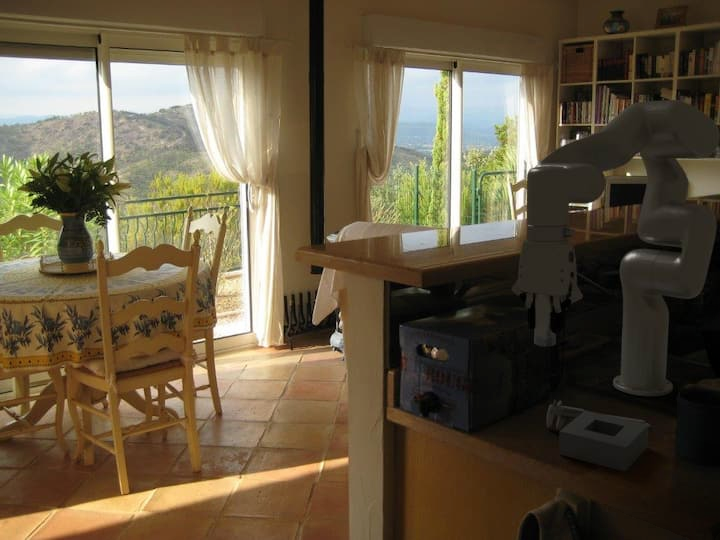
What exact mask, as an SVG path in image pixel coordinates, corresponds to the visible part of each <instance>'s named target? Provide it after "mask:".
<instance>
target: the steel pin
mask: <svg viewBox="0 0 720 540" xmlns="http://www.w3.org/2000/svg"><path fill="white" fill-rule="evenodd" d="M553 312H555V307H554V301H553V296H549V295H547V294H539V293H536V294H535V316H534V329H533V330H534V334H533V339H534V340H533V343H534V345H536V346H538V347H554V346H556V344H557V333H553V332H552V313H553Z"/></svg>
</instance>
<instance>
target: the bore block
mask: <svg viewBox="0 0 720 540" xmlns="http://www.w3.org/2000/svg"><path fill="white" fill-rule="evenodd" d="M584 410H585V409H584ZM608 415H609V414H605V415H604V414H603V413H599V412H594V411H589V410H585V411H584V412H583V413H581V414H580V415H579V416H578V417H576V418H575V419H574V420H573V421H571V420H570V422H569V423H567V424H566V425H565V426H564V427H563V428H560V430H558V431H559V433H558V434H559V436H558V437H559V438H558V439H559V440H558V455H561V456H565V457H568V458H570V459H571V458H572V459H576V460H579V461H583V462H587V463H591V464H594V465H597V466H600V467H601V466H602V467H606V468H609V469H613V470H616V471H619V472H620V471H621V472H624V473H625V472H627V470H629V468H630V467H631V466H632V465H633V464H634V463H635V462H636V461H637V460H638V459H639V458H640V456H641V455H642V454H643V453H644V452H645V451H646V450H647V449H648V447H649V428H650V427H649V425H650V423H648V424H644V423H640V422H635V421H631V420H626V419H622V418H617V417H613V416H614V415H612V416H608Z"/></svg>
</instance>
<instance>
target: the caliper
mask: <svg viewBox="0 0 720 540" xmlns="http://www.w3.org/2000/svg"><path fill="white" fill-rule="evenodd" d="M562 404H563V402H562V400H559V401H558V402H557V401H556V399H553V403H552V404H549V406H548V408H547V413H546V428H547V429H548V431H551V429H552V425H553V422H554V418H555V416H556V417H557V420H556V423H555V430H556V431H560V430H561V429H562V427H563V425H564V423H565V422H566V420H569V421H570V422H571V421H573V420H574V419H575V418H576V417H578V416H579V415H580V414H581V413H583V412H584V411H585V409H584V408H578V407H572V406H567V405H566V406H565V405H562ZM604 415H606V414H604ZM607 415H608V416H613V417H617V418H622V419H626V420H631V421H635V422H640V423H644V424H649V423H648V422H646V421H645V420H644V419H636V418H631V417H625V416H624V417H623V416H618V415H611V414H607ZM649 428H652V426H651V425H650V424H649Z"/></svg>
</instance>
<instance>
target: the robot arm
mask: <svg viewBox="0 0 720 540" xmlns="http://www.w3.org/2000/svg"><path fill="white" fill-rule="evenodd" d="M719 143H720V130H719V127H718V124H717V123H716V122H715V120H714V119H713V118H712V117H710V116H709V115H708V114H706V113H704V112H703V111H701V110H700V109H699V108H697V107H696V106H693V105H692V104H691V103H688V102H685V101H683V100H678V99H669V100H668V99H667V100H648V101H647V100H646V101H639V102H635V103H632V104H630V105H628V106H627V107H626V108H624V109H622V110H621V112H619V114H617V115H616V116H615V117H614V118H613V119H611V120H610V121H608V122H607V124H605V125H604V126H603V127H602V128H601V129H600V130H598V131H596V132H593V133H591V134H588V135H586V136H583V137H581V138H579V139H576V140H574V141H571V142H568V143H566V144H563V145H562V146H560V147H558V148H556V149H554V150H553V151H551V152H549V153H548V154H547V155H546V156H545V157H544V158H543V159H541V160H540V161H539V162H538V163H537V164H536V165H535V166H534V167H532V168H530V169H529V170H528V172H527V176H526V226H525V227H526V228H525V229H526V232H525V233H526V239H525V240H523V242H522V246H521V250H520V256H519V264H518V273H517V274H518V276H517V279H516V281H515V282H514V283H513V285H512V286H511V291H512V292H513V293H514V294H515V295H516V296H518V297H519V298H520V300H521V301H522V303H523V304H524V306H525V308H526V309H527V323H528V329H529V330H534V316H535V294H536V293H539V294H547V295H549V296H553V301H554V307H555V312H553V313H552V332H553V333H556V334H557V333H559V332H561V331H562V330H563V328H564V326H565V311H566V310H567V309H568V308H570V306H571V305H572V304H574V303H576V302H578V301H579V300H582V299H583V298H584V295H583V293H582V291H581V290H580V288H579V286H578V274H577V261H576V260H577V259H576V252H575V247H574V243H573V242H574V241H573V240H570V238H574V237H575V236H576V230H575V229H573V228H570V224H569V219H570V218H569V215H570V213H569V210H570V208H569V207H570V204H576V205H577V204H579V205H586V204H590V203H593V202H596V201H597V200H598V199H600V197H602V195H603V194H604V191H605V189H606V183H607V182H606V181H607V180H606V175H605V174H604V172H608V171H611V170H616V169H619V168H622V167H623V166H626V165H627V164H628V163H629V162H631V161H632V159H633V158H634V157H635V156H636V155H638V153H639V155H640V157H641V160H642V162H643V164H644V165H643V166H644V168H645V172H646V176H647V177H646V179H647V181H646V187H645V191H644V196H643V199H642V200H643V201H642V205H641V208H640V209H641V210H640V214H639V218H638V224H637V236H638V237H639V239H640V240H642V241H643V242H645V243H648V244H650V245H651V244H652V245H658V246H667V247H675V248H682V249H681V252H674V251H667V250H660V249H651V248H650V249H649V248H638V249H633V250H631V251H628V252H627V253H626V254H625V255H624V256H623V257H622V258H621V262H620V266H619V277H620V283H621V289H622V307H623V308H622V326H621V327H622V331H621V332H622V333H621V357H620V358H621V361H620V375H617V376H615V377H614V378H613V380H612V382H613V383H612V385H613V387H614V388H615V389H616V390H618V391H620V392H622V393H625V394H629V395H633V396H640V397H662V396H667V395H668V394H671V393H672V392H673V391H674V390H673V387H674V385H673V383H672V382H671V381H669V380H668V379H666V375H667V374H666V373H667V360H668V357H667V356H668V343H669V342H668V341H669V339H668V338H669V322H670V321H669V320H670V313H669V309H668V305H667V303H666V302H665V299H664V297H663V296H665V297H670V298H671V297H672V298H677V299H685V300H689V299H694V298H696V297H697V296H698V295H700V293H701V292H702V290H703V288H704V286H705V282H706V279H707V275H708V272H709V271H708V270H709V267H710V262H711V257H712V253H713V249H714V245H715V239H716V236H717V217H716V215H715V212H714V211H713V210H712V208H710V207H709V206H707V205H706V204H701V203H691V202H690V203H689V202H686V200H687V195H688V189H689V185H690V183H689V179H688V175H687V173H686V172H685V170H684V168H683V166H682V165H681V164H680V163H679V161H678V160H677V159H681V160H682V159H688V160H689V159H690V160H693V159H696V160H698V159H699V160H700V159H706V158H709V157H710V156H711V155H713V154H714V152H715V153H716V150H717V149H718V147H719ZM568 294H570V295H571V296H569V297H567V295H568Z"/></svg>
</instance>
